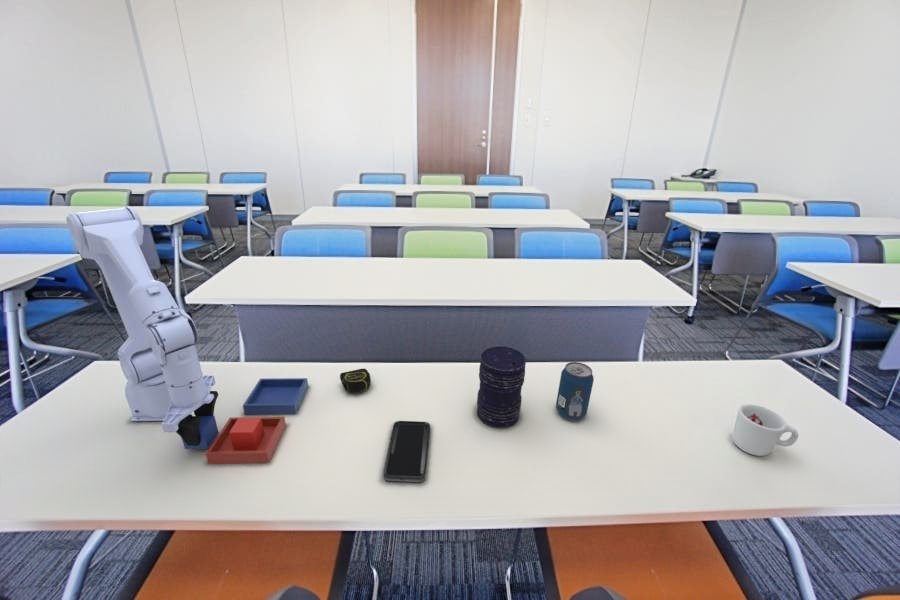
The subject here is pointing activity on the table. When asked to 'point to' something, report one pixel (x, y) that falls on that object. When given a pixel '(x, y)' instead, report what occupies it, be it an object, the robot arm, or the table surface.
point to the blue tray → (276, 396)
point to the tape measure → (355, 380)
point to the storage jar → (500, 386)
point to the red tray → (225, 454)
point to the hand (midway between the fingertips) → (200, 435)
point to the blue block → (205, 433)
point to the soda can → (574, 391)
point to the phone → (407, 452)
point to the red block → (247, 433)
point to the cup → (760, 430)
